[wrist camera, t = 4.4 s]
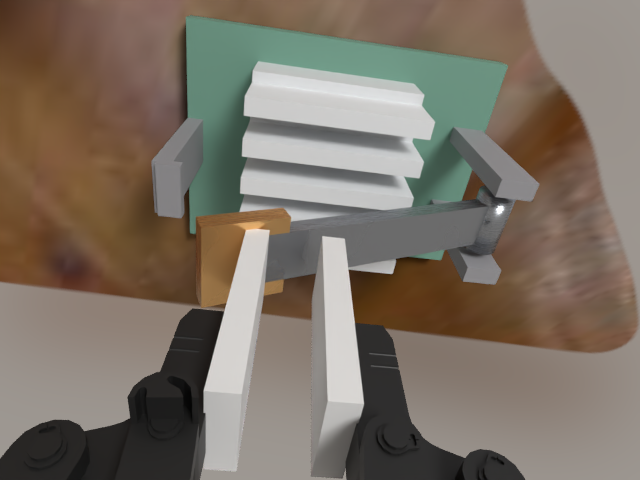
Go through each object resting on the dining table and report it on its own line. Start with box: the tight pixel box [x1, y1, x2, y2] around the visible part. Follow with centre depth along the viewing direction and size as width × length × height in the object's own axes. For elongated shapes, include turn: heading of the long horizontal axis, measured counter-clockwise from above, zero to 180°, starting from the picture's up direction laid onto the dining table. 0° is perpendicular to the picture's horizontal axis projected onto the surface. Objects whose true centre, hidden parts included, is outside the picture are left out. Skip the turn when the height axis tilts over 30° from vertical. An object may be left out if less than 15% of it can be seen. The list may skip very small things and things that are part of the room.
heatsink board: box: [152, 15, 539, 285], centre depth 22 cm, size 16×12×8 cm
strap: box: [196, 186, 516, 308], centre depth 17 cm, size 14×3×2 cm, turn 84°
